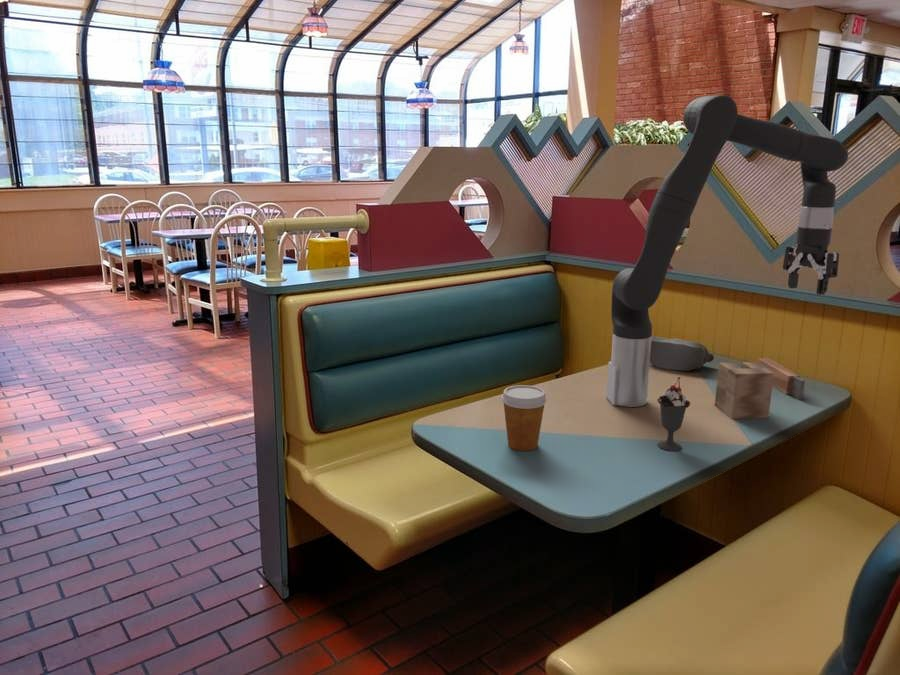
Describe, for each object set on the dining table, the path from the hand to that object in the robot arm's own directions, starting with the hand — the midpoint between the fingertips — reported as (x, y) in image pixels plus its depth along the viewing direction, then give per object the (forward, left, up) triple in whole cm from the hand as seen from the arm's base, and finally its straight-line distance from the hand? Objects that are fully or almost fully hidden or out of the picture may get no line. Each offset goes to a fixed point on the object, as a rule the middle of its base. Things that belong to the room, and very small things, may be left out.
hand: (806, 291), depth 177 cm
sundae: (-45, -31, -27) cm, 61 cm away
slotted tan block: (-20, -12, -27) cm, 35 cm away
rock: (-21, +27, -27) cm, 44 cm away
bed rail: (-1, +5, -27) cm, 27 cm away
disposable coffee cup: (-76, -28, -27) cm, 85 cm away
